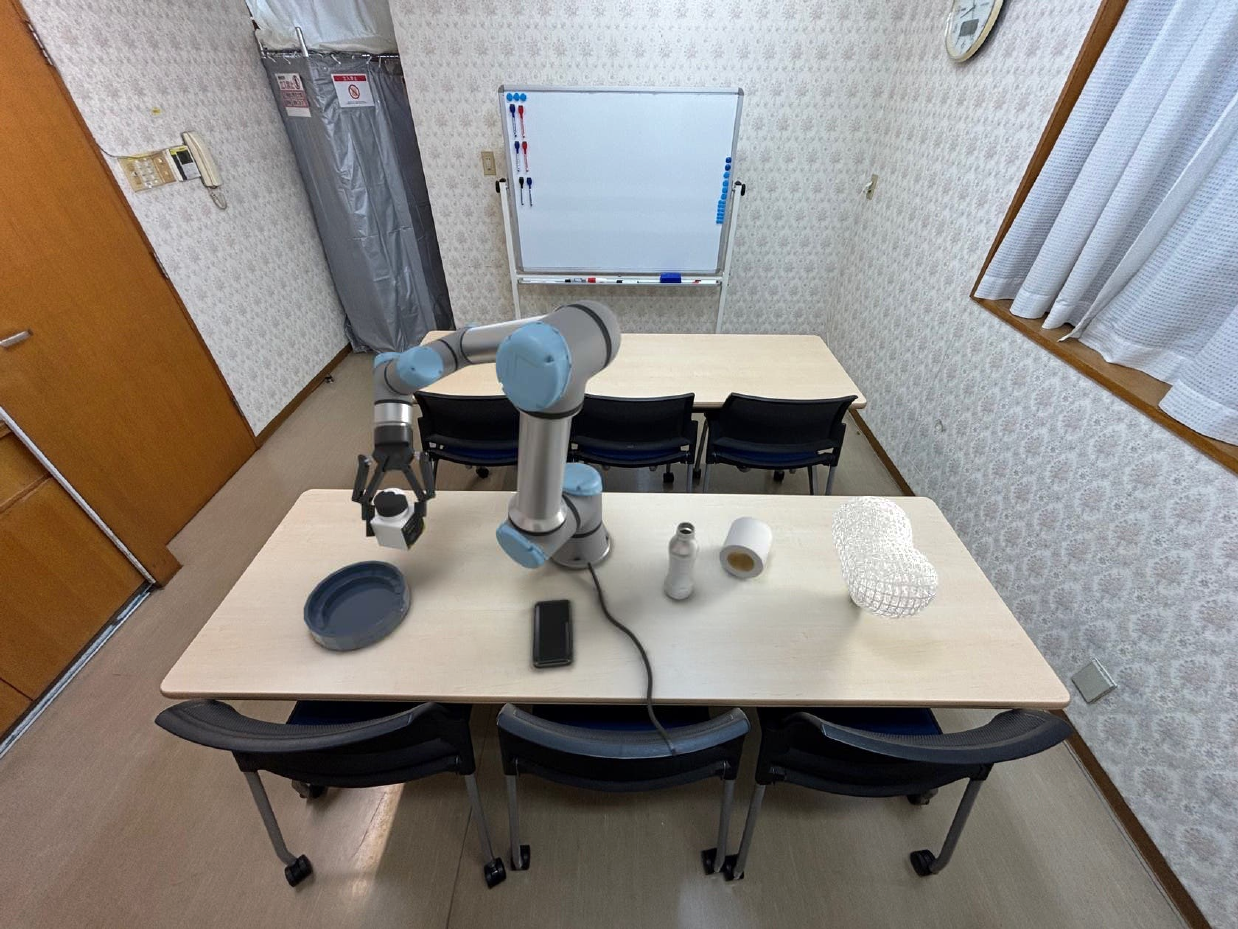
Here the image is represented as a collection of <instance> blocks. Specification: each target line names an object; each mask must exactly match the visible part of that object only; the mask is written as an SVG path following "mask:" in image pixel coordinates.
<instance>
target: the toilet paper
mask: <svg viewBox="0 0 1238 929" xmlns="http://www.w3.org/2000/svg"><path fill="white" fill-rule="evenodd" d="M772 541H773V532H772V530H771V528H770V526H768V524H766V523H765V522H764V521H762V520H760V519H759V518H756V517H752V516H741V517H738V518H736V519H734V521H732V523H731V525H730V528H729V530H728V532H727V535H726V537H725V539H724V542H723V544H722V546H721V548H720V551H719V555H718V559H719V562H720V565H721V566H722V567H723V569H724V570H726V571H727V572H728V573H730V574H731V575H733V576H735V577H738V578H743V579H752V578H756V577H758V576H759V575H761V574H762V572H763V570H764V567H765V564H766V560H767V557H768V554H769V551H770V548H771V545H772Z"/></svg>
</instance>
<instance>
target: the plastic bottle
mask: <svg viewBox="0 0 1238 929" xmlns="http://www.w3.org/2000/svg"><path fill="white" fill-rule="evenodd" d="M695 533H696V527H695V525H694V524H693V523H691V522H689V521H682V522H680V523H679V524H678V525H677V527H676V531H675V534H674V535H673V536H672V537H671V538H670V540H669V542H668V545H667V546H668V547H667V550H668V570H667V573H666V576H665V579H664V589H665V592H666V595H668V596H669V597H670V598H672V599H674V600H684V599H687V598H689V596H690V595H691V594H692V592H693V590H694V587H695V584H694V583H695V582H694V566H695V562H696V560H697V557H698V554H699V550H700V545H699V542H698V540H697V538H696V537H695V535H696V534H695Z"/></svg>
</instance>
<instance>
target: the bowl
mask: <svg viewBox="0 0 1238 929" xmlns="http://www.w3.org/2000/svg"><path fill="white" fill-rule="evenodd" d="M306 598H307V599H306V601H305V603H304V606H303V621H304V623H305V625H306V626H307V628H308V630H309V631H310V633H311V634H312V637H313V638H314V639H315V641H316V642H317V643H318V644H320V645H321V646H323V647H325V648H326V649H330V650H336V651H350V650H357V649H361V648H363V647H366V646H369V645H372V644H374V643H376V642H378V641H379V640H381V639H383V638H384V637H386V636H388V635H389V634H390V633H391V632H392V631H393V630H394V629H395V628H396V627H397V626H399V624H400V623H401V622H402V621H403V619H404V617H405V615H406V614H407V612H408V610H409V607H410V603H411V594H410V589H409V586H408V583H407V580H406V577H405V576H404V573H402V571H401V570H400V569H399V568H398V567H397V566H396V565H393V564H392V563H389V561H381V560H373V559H372V560H365V561H364V560H363V561H358V562H354V563H351V564H348V565H345V566H342V567H341V568H339V569H337V570H335V571H333V572H331V573H330V574H329V575H327V576H326V577H325V578H323V579H322V580H321V581H320V582H319V583H317V585H315V587H314V588H313V590H312V591H311V592H310V593H309V594H308V597H306Z"/></svg>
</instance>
